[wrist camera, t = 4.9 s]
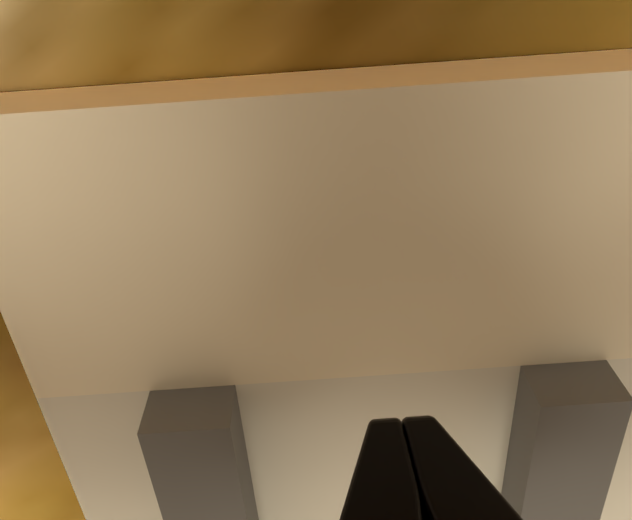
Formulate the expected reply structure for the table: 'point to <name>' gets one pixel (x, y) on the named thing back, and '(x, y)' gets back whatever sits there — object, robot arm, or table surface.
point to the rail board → (326, 280)
